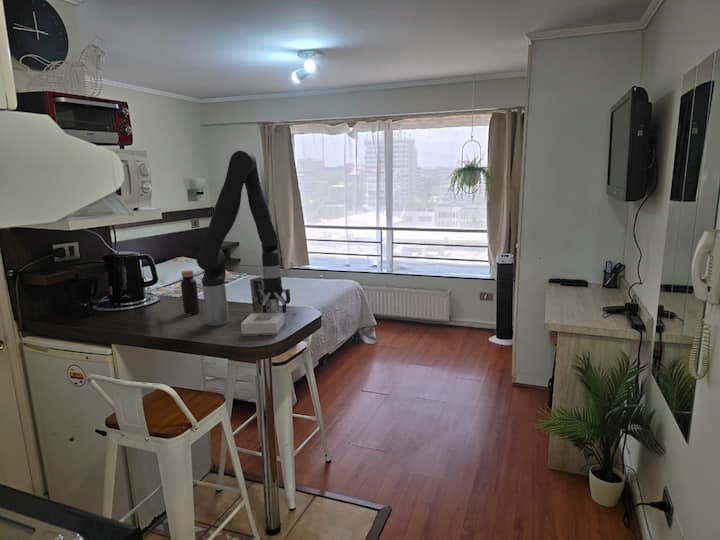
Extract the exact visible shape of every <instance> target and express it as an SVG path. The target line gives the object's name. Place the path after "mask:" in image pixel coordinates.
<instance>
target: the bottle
mask: <svg viewBox="0 0 720 540" xmlns="http://www.w3.org/2000/svg"><path fill="white" fill-rule="evenodd" d="M181 278H182V280H181V282H180V288H181V297H182V305H183V313H186V314H194V315H196V314H195V313H198V314H199V313H200V302H199V294H198V285H197V280H195V279H194V270H184V271H183V270H182V271H181Z"/></svg>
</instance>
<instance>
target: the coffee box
mask: <svg viewBox="0 0 720 540" xmlns="http://www.w3.org/2000/svg"><path fill="white" fill-rule="evenodd" d="M249 281H250V282H249V283H250V291H251V301H252V302H251V303H252V304H251V305H252V313H264V312H263V306H262V305H261V304H258V299H257V291H258V290H259V289H260V290H264V282H263V276H258V277H255V278H252V279H251V278H250V279H249ZM265 298H266V295H265V294H264V293H263V294H262V301H264V300H265ZM266 304H267V313H270V305H269V300H268V301H267V303H266Z"/></svg>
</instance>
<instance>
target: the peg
mask: <svg viewBox="0 0 720 540" xmlns="http://www.w3.org/2000/svg"><path fill="white" fill-rule="evenodd" d="M269 305H270V313H281V312H280V301H279V300H278V299H269Z"/></svg>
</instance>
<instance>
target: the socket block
mask: <svg viewBox="0 0 720 540" xmlns="http://www.w3.org/2000/svg"><path fill="white" fill-rule="evenodd" d="M284 326H285V313H283V312H280V313H253V312H252V313H250V314H249V315H248V316H247V317H246V318H245V319H244V320H243V321H242V322H241V323H240V328H241V337H258V336H257V335H272V336H278V335H279V334H278V333H281V331H280V330H282V329H283V328H284Z"/></svg>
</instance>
